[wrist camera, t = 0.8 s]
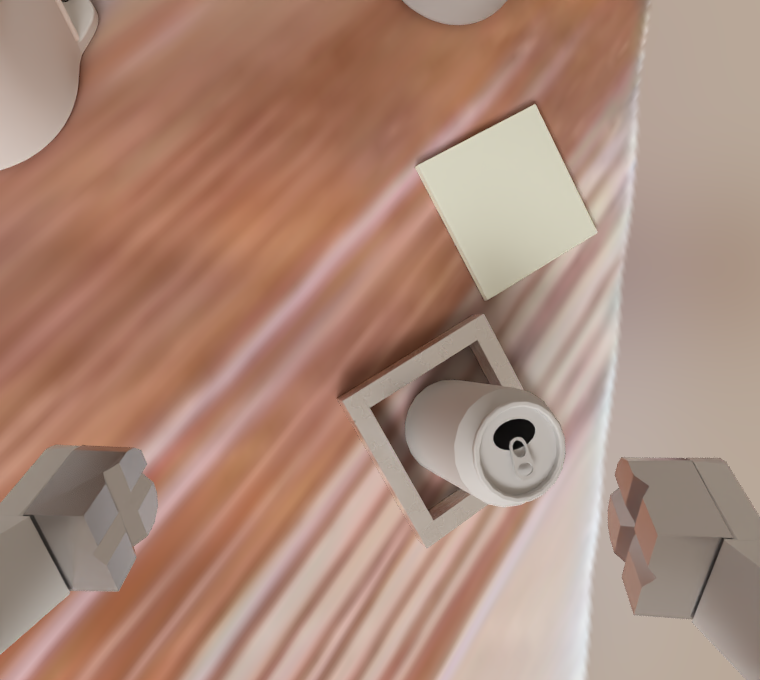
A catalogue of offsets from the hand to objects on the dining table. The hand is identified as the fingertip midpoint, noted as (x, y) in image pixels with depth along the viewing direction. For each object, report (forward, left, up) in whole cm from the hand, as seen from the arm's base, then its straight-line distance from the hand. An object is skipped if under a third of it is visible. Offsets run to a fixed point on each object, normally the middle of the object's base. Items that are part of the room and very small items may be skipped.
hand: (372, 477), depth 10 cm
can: (+11, +11, -33) cm, 37 cm away
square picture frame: (+11, +11, -33) cm, 37 cm away
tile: (-2, +25, -33) cm, 42 cm away
